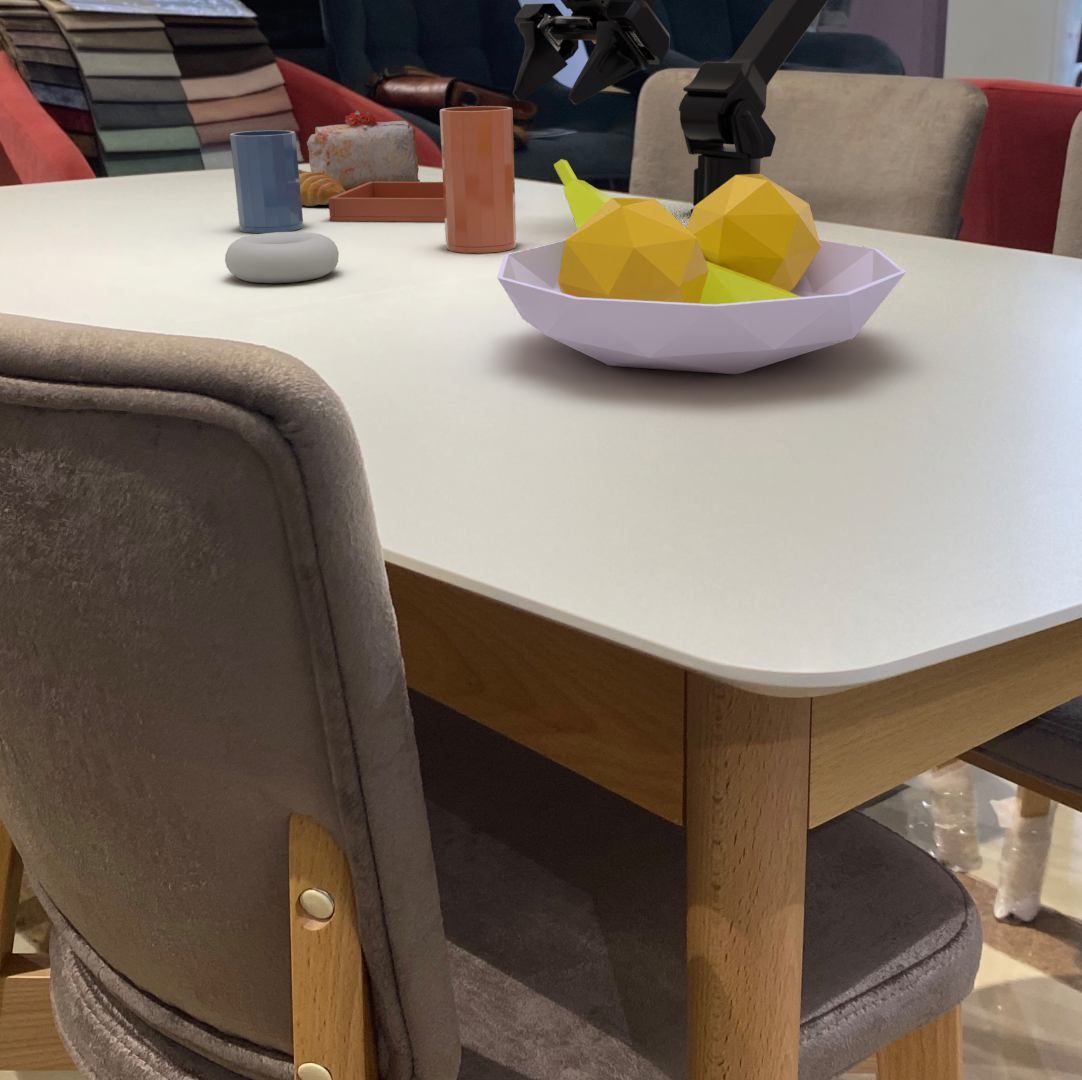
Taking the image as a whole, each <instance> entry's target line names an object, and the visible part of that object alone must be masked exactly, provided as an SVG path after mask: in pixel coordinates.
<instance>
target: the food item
mask: <svg viewBox="0 0 1082 1080" xmlns="http://www.w3.org/2000/svg"><path fill="white" fill-rule="evenodd" d="M344 118H345V119H344V123H342V124H330V125H324V126H316V127H315V129H314V130H315V131H314V132H315V133H313V134H311V135H310V136H309V137H308V139H307V141H306V146H307V151H308V158H309V159H308V162H309V167H310V172H321V173H323V174H328V175H329V176H330V177H331V178H333V179H336V180H337V181H338V182H339V183H341V184H342V186H343V188H344V189H345V191H348V190H350V189H353V188H355V187H358V186H360V185H363V184H365V183H368V182H421V180H420V179H419V163H418V162H419V161H418V155H417V142H416V138H415V137H416V136H415V135H416V129H415V127H414V126H411V124H409V122H408V121H407V120H394V121H377V118H376V116H374V115H373V114H372V113H370V112H369V111H367V112H366V113H361V112H360V111H358V110H356V111H355V112H350V114H348V115H346V116H344Z"/></svg>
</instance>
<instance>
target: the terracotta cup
mask: <svg viewBox="0 0 1082 1080" xmlns="http://www.w3.org/2000/svg"><path fill="white" fill-rule="evenodd" d="M513 111H514V110H513V107H509V106H499V105H497V106H495V105H493V106H492V105H488V106H487V105H481V106H456V107H447V108H441V109H440V110H439V124H440V125H439V127H440V128H439V129H440V145H441V146H440V147H441V148H440V149H441V163H442V164H441V168H442V169H441V170H442V182H443V192H444V214H445V222H444V232H445V235H444V236H445V243H446V249H447V250H448V251H449V252H455V253H462V254H491V253H500V252H507V251H510V250H513V249H515V248H516V244H517V243H516V241H517V227H516V226H517V225H516V223H517V221H516V220H517V219H516V186H515V184H516V183H515V181H516V180H515V151H514V150H515V149H514V114H513V113H514V112H513Z"/></svg>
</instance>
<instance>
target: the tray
mask: <svg viewBox="0 0 1082 1080" xmlns="http://www.w3.org/2000/svg"><path fill="white" fill-rule="evenodd" d="M328 200H329V203H328V211H329V221H330V222H405V223H407V222H409V223H410V222H411V223H416V222H418V223H419V222H421V223H423V222H424V223H426V222H427V223H445V214H444V192H443V181H420V182H368V183H365V184H363V185H360V186H358V187H355V188H353V189H350V190H348V191H345V192H343V193H341V194H338V195H336V196H333V197H331V198H329V199H328Z"/></svg>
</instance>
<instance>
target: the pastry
mask: <svg viewBox="0 0 1082 1080" xmlns="http://www.w3.org/2000/svg"><path fill="white" fill-rule="evenodd" d="M299 181H300V192H301V204H302V207H303V206H305V207H314V206H318V205H323V206H324V205H325V206H327V205H329V200H328V199H329V198H331V197H333V196H336V195H338V194H341V193H343V192H345V189H344V188H343V186H342V184H341V183H339V182H338V181H337V180H336V179H333V178H331V177H330V176H329V175H328V174H323V173H321V172H311V171H307V170H302V169H299Z"/></svg>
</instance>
